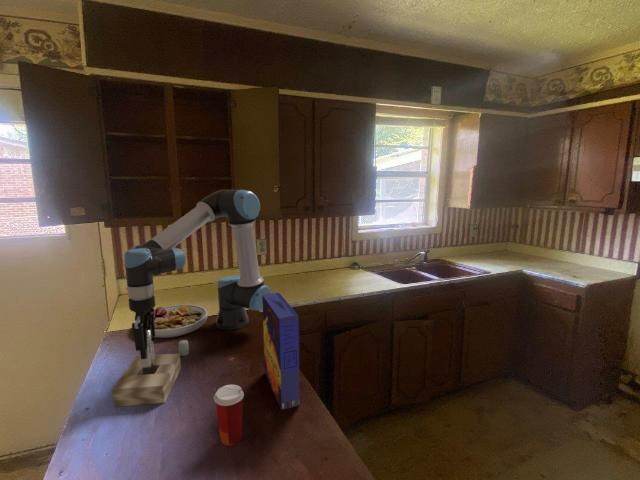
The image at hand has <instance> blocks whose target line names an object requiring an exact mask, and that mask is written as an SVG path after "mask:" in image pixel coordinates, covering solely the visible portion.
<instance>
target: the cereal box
mask: <svg viewBox="0 0 640 480" xmlns="http://www.w3.org/2000/svg"><path fill="white" fill-rule="evenodd" d="M262 298H263V309H262V320H263V321H262V323H263V326H262V328H263V353H264V354H263V355H264V356H263V357H264V361H263V362H264V374H265V376H266V379H267V381H268V383H269V385H270V387H271V390H272V394H273V395H274V397H275V400H276V402H277V405H278V407H279V408H280V411H283V410H287V409H288V410H289V409H291V408H295V407H299V406H300V401H301V400H300V332H299V330H300V328H299V327H300V326H299V324H300V321H299V318H300V317H299V316H300V315H298V312H296V310H294V308H292V306H291V305H290V304H289V303H288V301H287V300H286V299H285V298H284V297H283V296H282V294H281V293H280V292H271V293H269V294H264V295H262Z"/></svg>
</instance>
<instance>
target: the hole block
mask: <svg viewBox="0 0 640 480" xmlns="http://www.w3.org/2000/svg"><path fill="white" fill-rule="evenodd" d="M154 356H155V359H154V370H155V374H145V375H143V371H142V367H141V362H140V355H136V356H135V358H134V359H133V360H132V361H131V363H130V364H129V366H128V367H127V368H126V369H125V371H124V372H123V373H122V374H121V376H120V377H119V379H118V380H117V382H116V383H115V384H114V386H113V387H112V388H111V395H112V396H111V397H112V402H113V404H112V405H113V407H114V408H117V407H127V406H129V407H130V406H139V405H140V406H141V405H144V406H145V405H153V404H155V405H156V404H163V403H164V404H165V403H166V400H167V399H168V396H169V395H170V392H171V390H172V389H173V386H174V384H175V383H176V379H177V378H178V375H179V373H180V372H181V370H182V369H181V368H182V365H181V356H180V353H179V352H178V353H167V354H166V353H165V354H154Z"/></svg>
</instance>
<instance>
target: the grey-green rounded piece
mask: <svg viewBox="0 0 640 480" xmlns="http://www.w3.org/2000/svg"><path fill="white" fill-rule="evenodd" d="M177 344H178V353H180V357H185V356H188V355H189V354H190V352H189V351H190V349H189V340H187V339H182V340H180V341H178V343H177Z"/></svg>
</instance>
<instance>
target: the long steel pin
mask: <svg viewBox="0 0 640 480" xmlns="http://www.w3.org/2000/svg"><path fill="white" fill-rule="evenodd" d="M148 347H149V355H150V365H151V366H150V367H142V371H143V375H145V374H155V370H154V359H153V349H152V338H151V329H150V328H147V348H148Z"/></svg>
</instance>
